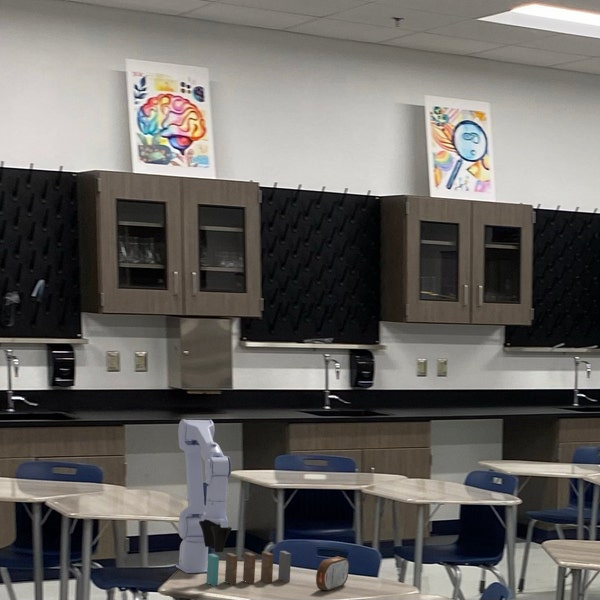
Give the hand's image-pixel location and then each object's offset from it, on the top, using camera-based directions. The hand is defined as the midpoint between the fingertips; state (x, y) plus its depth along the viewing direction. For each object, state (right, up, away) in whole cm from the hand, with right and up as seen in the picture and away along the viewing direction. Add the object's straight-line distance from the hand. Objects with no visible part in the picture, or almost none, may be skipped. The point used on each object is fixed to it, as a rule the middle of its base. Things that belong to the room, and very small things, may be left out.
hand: (213, 549), depth 324 cm
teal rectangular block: (-1, -10, 0) cm, 10 cm away
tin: (+33, -12, +2) cm, 35 cm away
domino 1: (+4, -10, +2) cm, 11 cm away
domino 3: (+14, -11, +7) cm, 19 cm away
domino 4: (+19, -11, +9) cm, 24 cm away
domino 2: (+9, -10, +4) cm, 15 cm away
